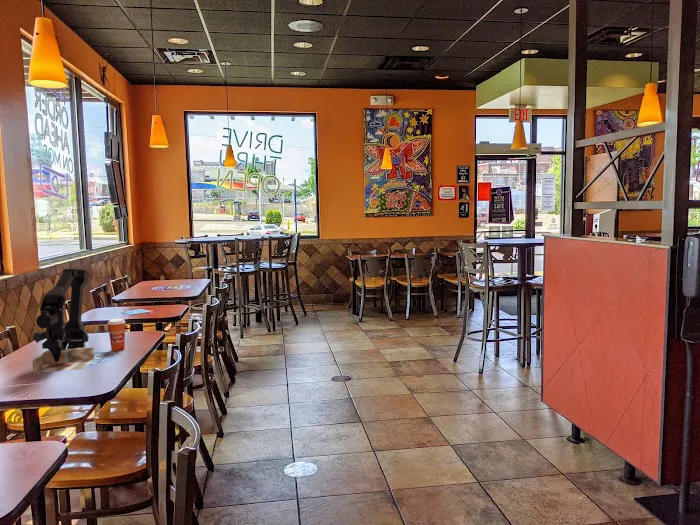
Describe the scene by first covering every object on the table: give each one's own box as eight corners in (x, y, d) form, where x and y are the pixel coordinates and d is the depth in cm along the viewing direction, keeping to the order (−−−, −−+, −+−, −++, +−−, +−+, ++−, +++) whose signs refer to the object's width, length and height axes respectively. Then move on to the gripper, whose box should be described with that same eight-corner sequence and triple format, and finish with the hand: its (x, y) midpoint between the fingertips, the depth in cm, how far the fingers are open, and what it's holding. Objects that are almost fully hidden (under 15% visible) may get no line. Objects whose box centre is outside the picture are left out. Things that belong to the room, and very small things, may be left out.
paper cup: (109, 352, 244) (107, 322, 243) (108, 348, 251) (106, 319, 249) (128, 350, 247) (126, 320, 246) (126, 346, 254) (124, 317, 253)
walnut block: (50, 360, 224) (49, 349, 224) (73, 359, 224) (73, 349, 224) (43, 363, 220) (43, 352, 219) (67, 363, 219) (66, 352, 219)
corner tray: (94, 359, 232) (93, 347, 232) (84, 370, 216) (83, 357, 215) (47, 362, 228) (46, 350, 228) (33, 374, 212) (32, 360, 211)
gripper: (42, 320, 228) (44, 356, 229) (26, 329, 210) (29, 368, 211) (70, 318, 230) (72, 353, 232) (57, 327, 212) (60, 365, 213)
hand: (58, 360), depth 222 cm, fingers closed on walnut block, 5 cm apart
